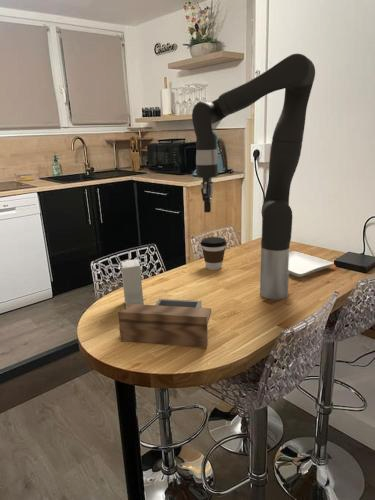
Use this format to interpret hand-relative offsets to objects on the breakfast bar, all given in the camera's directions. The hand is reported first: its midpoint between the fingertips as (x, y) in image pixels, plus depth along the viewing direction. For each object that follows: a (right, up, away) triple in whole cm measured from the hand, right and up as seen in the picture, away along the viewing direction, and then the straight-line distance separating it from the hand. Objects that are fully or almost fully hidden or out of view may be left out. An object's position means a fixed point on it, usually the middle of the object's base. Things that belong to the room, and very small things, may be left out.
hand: (207, 211), depth 139 cm
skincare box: (-25, -32, -10) cm, 42 cm away
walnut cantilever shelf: (-13, -38, -30) cm, 50 cm away
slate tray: (-11, -35, -23) cm, 44 cm away
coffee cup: (+4, -21, +23) cm, 32 cm away
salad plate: (+38, -22, +19) cm, 48 cm away
